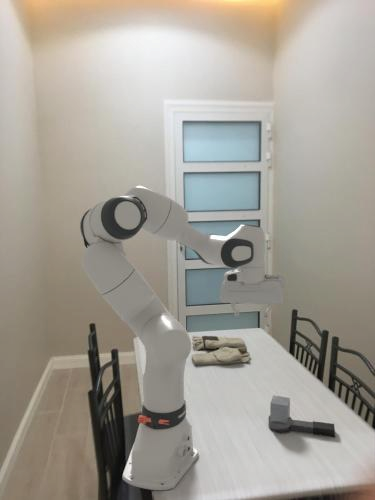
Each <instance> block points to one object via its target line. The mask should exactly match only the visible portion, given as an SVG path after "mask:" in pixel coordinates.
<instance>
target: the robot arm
mask: <svg viewBox="0 0 375 500" xmlns="http://www.w3.org/2000/svg"><path fill="white" fill-rule="evenodd" d="M79 226H80V227H79V228H80V233H81V236H82V238H83V243H84V247H86V249H85V250H84V252H83V253H82V255H81V258H80V263H81V264H80V265H81V266H82V268H83V271H84V272H85V274H86V276H87V277H88V279H89V280H90V282H91V284H92V285H93V286H94V287H95V289H96V291H98V293H99V294H100V296H102V298H103V299H104V300H105V302H107V304H108V305H109V306H110V307H111V308H112V310H114V312H115V313H116V314H117V316H118V317H119V318H120V319H121V320H122V321H123V322H124V323H125V324H126V325H127V326H128V327H129V329H131V331H132V332H133V333H134V334H135V335H136V337H137V338H138V339H139V340H140V342H141V343H142V345H143V346H144V350H145V367H144V368H145V369H144V373H143V374H142V386H143V387H142V388H143V402H142V406H141V412H140V413H141V414H140V415H138V419H137V423H138V424H139V425H138V428H137V431H136V436H135V440H134V442H133V445H132V447H131V450H130V452H129V456H128V459H127V461H126V464H125V467H124V470H123V473H122V477H121V478H122V481H124V482H125V483H126V484H129V485H130V486H133V487H137V488H141V489H145V490H151V491H152V490H153V491H167V490H171V489H174V488H175V487H176V486H177V485H178V483H179V482H180V481H181V479H182V478H183V477H184V476H185V475H186V473H187V472H188V470H189V469H190V468H191V467H192V465H193V464H194V462H195V461H196V460H197V458H199V455H200V454H199V450H197V449H196V448H195V447H194V441H193V440H194V439H193V429H192V424H191V423H190V422H189V420H188V418H187V417H186V416H187V404H186V400H185V387H184V386H185V379H184V378H185V368H186V363H187V359H188V358H189V356H190V354H191V352H192V351H191V350H192V341H191V339H190V335H189V333H188V331H187V329H186V327H185V326H183V324H181V323H180V321H179V320H177V319H176V317H174V315H172V314H171V312H170V311H169V310H168V309H167V307H166V306H165V305H164V304H163V302H162V300H161V299H160V298H159V297H158V295H157V293H156V292H155V291H154V289H153V288H152V286H151V285H150V283H148V282H147V280H146V278H144V276H143V275H142V274H141V273H140V271H139V270H138V269H137V267H136V266H135V265H134V264H133V262H132V261H131V259H129V258H128V257H127V254H126V252H125V250H124V247H123V242H124V241H125V240H129V239H131V238H133V237H134V236H136V235H137V234H138V233H139V232H140V230H141V229H142V230H144V231H146V232H148V233H149V234H152V235H154V236H156V237H158V238H161V239H164V240H169V241H176V242H178V243H179V244H181V245H183V246H185V247H187V248H188V249H190V250H192V251H193V252H194V253H195V254H196V256H197V257H198V258H199V259H200V260H201V261H202V262H203V263H204V264H206V265H213V266H219V267H223V268H228V269H232V268H233V269H232V270H228V271H226V272H224V274H223V281H222V283H221V287H220V291H219V300H220V302H221V303H223V304H230V307H231V309H232V311H233V314H234V317H239V316H240V310H239V309H237V308H236V304H251V305H252V304H255V305H258V304H259V305H261V304H262V305H267V309H266V310H263V318H269V313H270V311H271V309H272V307H273V305H281V304H282V303H283V302H284V294H283V293H284V292H283V289H284V287H285V279H284V278H283V276H280V274H275V275H274V274H266V261H265V254H266V240H265V233H264V229H263V228H262V227H261V226H260V225H256V224H247V223H243V224H240V225H239V226H238V227H237V229H236V230H234V231H232V232H231V233H229V234H227V235H219V234H216V233H215V234H214V233H203V232H201V231H199V230H198V229H196V228H195V227H193V226H192V225H190V224H189V214H188V211H187V210H186V208H184V207H183V206H182V205H181V204H179V203H178V202H177V201H175V200H174V199H172V198H170V197H168V196H167V195H164V194H162V193H160V192H158V191H156V190H154V189H150V188H148V187H147V188H146V187H144V186H141V185H137V186H132V187H131V188H130V189H128V190H127V191H126V193H125V194H124V195H122V196H121V195H120V196H114V197H111V198H109V199H106V200H104V201H102V202H99V203H97V204H96V205H94V206H93V207H92V208H90V209H88V210H87V211H86V212H85V213H84V214H83V216H82V217H81V220H80V225H79ZM234 268H235V269H234Z"/></svg>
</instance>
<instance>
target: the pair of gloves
mask: <svg viewBox="0 0 375 500" xmlns="http://www.w3.org/2000/svg"><path fill="white" fill-rule="evenodd" d="M191 340H192V341H191V345H192V346H193V349H195V350H198V351H199V350H202V349H205V350H214V351H210V352H203V353H194V354H191V362H192V363H193V365H195V366H197V365H203V366H205V365H206V366H207V365H230V364H244V363H249V362H250V360H251V358H250V355H251V354H250V352H249V351H248V348H247V347H246V343H245V340H244V338H242V337H236V336H235V337H229V336H228V337H227V336H219V335H201V336H200V335H192V339H191ZM216 348H219V349H216ZM195 350H194V351H195Z"/></svg>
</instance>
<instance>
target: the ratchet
mask: <svg viewBox="0 0 375 500" xmlns="http://www.w3.org/2000/svg"><path fill="white" fill-rule="evenodd" d="M268 428H269V430H270V431H271V432H274V433H277V434H288V433H290V432H296V433H303V434H304V433H305V434H311V435H314V436H324V437H331V438H335V437H336V436H335V435H336V433H335V432H336V429H335V428H336V427H335V423H329V422H321V421H315V420H314V421H306V420H298V419H292V417H291V416H290V417H289V421H288V424H287V425H285V424H280V423H274V422H270V415H269V416H268Z"/></svg>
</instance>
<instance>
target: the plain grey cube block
mask: <svg viewBox="0 0 375 500" xmlns="http://www.w3.org/2000/svg"><path fill="white" fill-rule="evenodd" d="M290 407H291V398H290V397H286V396H281V395H273V396H272V398H271V401H270V407H269V408H270V409H269V411H270V414H269V416H270V422H274V423H280V424H285V425H287V424H288V421H289V417H291V414H290V413H291V408H290Z"/></svg>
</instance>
